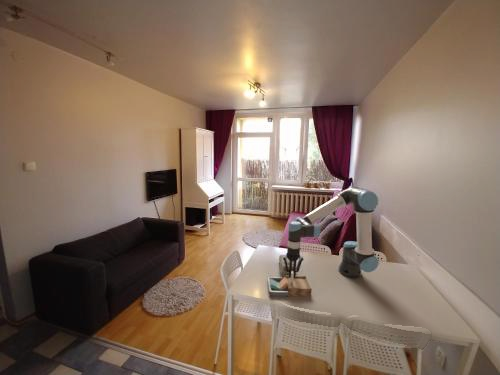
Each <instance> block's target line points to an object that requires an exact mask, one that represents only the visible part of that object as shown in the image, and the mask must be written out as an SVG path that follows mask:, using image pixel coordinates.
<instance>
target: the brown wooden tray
mask: <svg viewBox="0 0 500 375" xmlns="http://www.w3.org/2000/svg"><path fill="white" fill-rule="evenodd" d="M285 278H287V280H288V284H289V285H288V286H287V287H286V290H287V291H288V297H312V288H311V286H310V284H309V282H308V279H307V276H306V275H296V276H295V278H293V283H291V282H290V277H289V276H288V275H285Z"/></svg>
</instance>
